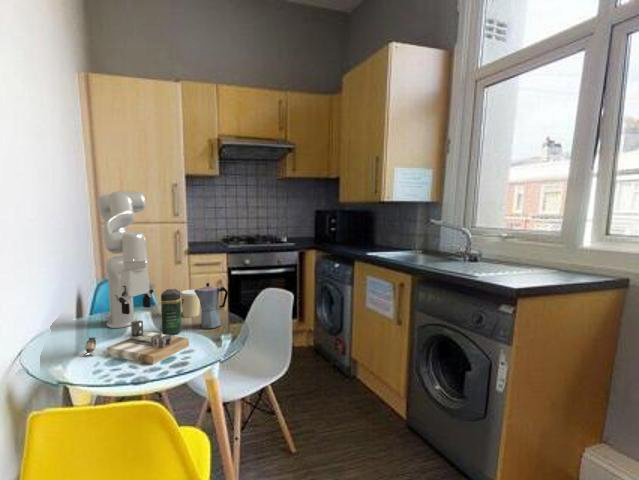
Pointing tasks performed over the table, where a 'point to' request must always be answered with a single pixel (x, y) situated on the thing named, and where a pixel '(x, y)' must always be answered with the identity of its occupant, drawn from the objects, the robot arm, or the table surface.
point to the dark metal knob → (140, 332)
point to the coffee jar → (171, 312)
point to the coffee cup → (190, 303)
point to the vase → (90, 345)
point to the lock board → (148, 348)
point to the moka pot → (210, 305)
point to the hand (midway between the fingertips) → (136, 310)
